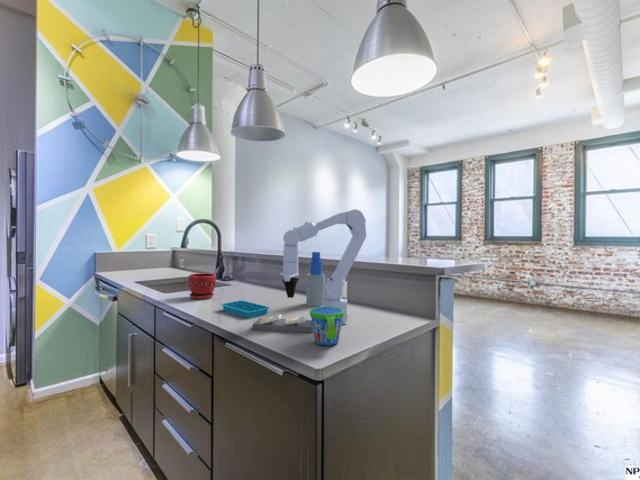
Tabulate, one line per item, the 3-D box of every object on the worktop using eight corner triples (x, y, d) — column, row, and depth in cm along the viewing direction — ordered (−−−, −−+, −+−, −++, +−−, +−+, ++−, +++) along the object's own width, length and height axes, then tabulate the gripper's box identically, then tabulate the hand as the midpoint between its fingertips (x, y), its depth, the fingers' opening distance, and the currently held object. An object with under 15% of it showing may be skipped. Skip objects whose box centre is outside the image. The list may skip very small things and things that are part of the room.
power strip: (314, 325, 116) (314, 318, 116) (311, 332, 108) (312, 324, 108) (259, 323, 118) (259, 315, 118) (252, 329, 110) (252, 321, 110)
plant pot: (199, 301, 152) (199, 277, 152) (183, 298, 160) (183, 274, 159) (221, 297, 163) (221, 274, 163) (205, 294, 171) (205, 272, 170)
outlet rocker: (281, 316, 113) (280, 313, 113) (279, 319, 109) (278, 316, 109) (263, 321, 114) (262, 318, 114) (260, 324, 110) (259, 321, 110)
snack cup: (309, 334, 106) (309, 304, 106) (340, 334, 107) (340, 304, 107) (309, 351, 91) (310, 316, 91) (346, 351, 91) (346, 316, 91)
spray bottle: (302, 304, 149) (302, 251, 148) (313, 301, 156) (314, 251, 156) (317, 307, 144) (318, 252, 143) (328, 304, 151) (329, 251, 150)
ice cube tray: (241, 306, 145) (241, 300, 145) (271, 314, 132) (271, 307, 132) (219, 311, 136) (219, 304, 136) (248, 320, 123) (248, 312, 123)
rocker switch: (306, 318, 112) (306, 315, 112) (305, 321, 108) (304, 318, 108) (287, 321, 113) (287, 318, 113) (285, 324, 109) (284, 321, 109)
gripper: (284, 259, 128) (284, 293, 128) (275, 263, 113) (275, 301, 114) (301, 260, 127) (301, 293, 127) (295, 264, 113) (294, 301, 113)
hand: (290, 297), depth 121 cm, fingers closed
